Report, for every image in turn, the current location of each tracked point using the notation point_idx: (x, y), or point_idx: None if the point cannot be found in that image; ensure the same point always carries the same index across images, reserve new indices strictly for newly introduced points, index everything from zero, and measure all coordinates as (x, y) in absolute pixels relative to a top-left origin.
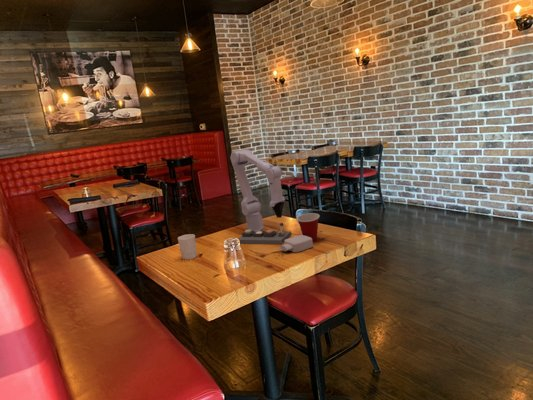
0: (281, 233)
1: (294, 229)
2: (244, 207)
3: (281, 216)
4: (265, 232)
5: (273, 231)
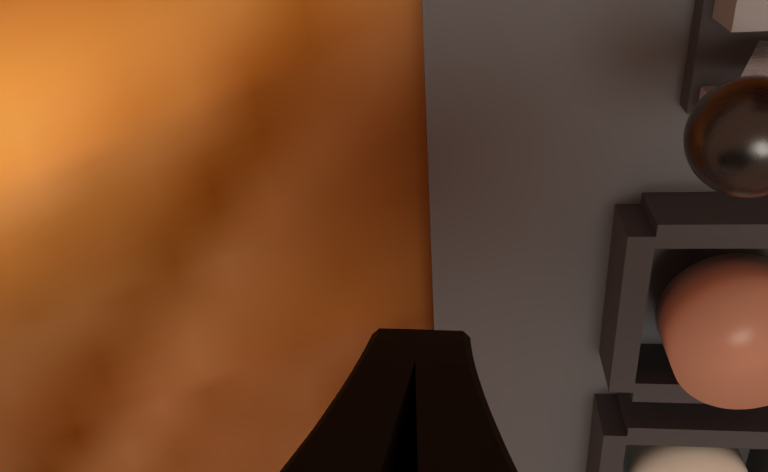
0: (581, 108)
1: (52, 22)
2: None
3: (389, 335)
4: None
5: (647, 276)
